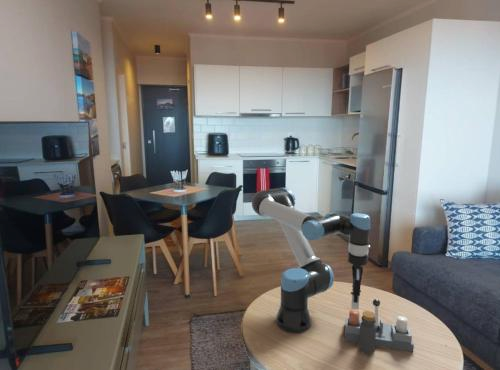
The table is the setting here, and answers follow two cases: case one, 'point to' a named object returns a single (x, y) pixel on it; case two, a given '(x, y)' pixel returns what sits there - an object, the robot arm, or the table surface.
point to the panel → (382, 336)
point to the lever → (376, 311)
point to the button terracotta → (354, 317)
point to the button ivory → (401, 324)
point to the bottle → (367, 333)
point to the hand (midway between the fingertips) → (354, 308)
